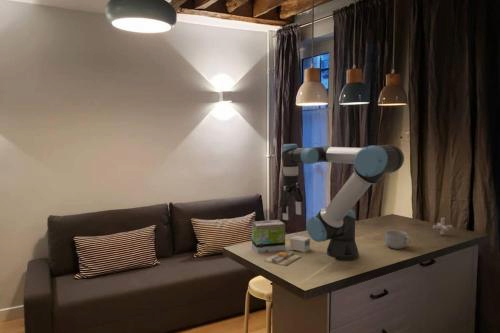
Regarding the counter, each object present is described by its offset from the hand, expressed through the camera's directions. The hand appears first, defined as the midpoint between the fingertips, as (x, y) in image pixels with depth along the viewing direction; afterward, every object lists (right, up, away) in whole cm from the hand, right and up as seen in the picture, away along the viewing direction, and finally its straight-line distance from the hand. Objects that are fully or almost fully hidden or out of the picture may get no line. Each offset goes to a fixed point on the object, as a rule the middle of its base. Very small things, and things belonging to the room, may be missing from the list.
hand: (292, 217), depth 195 cm
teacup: (+54, -17, +3) cm, 57 cm away
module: (+4, -18, +1) cm, 18 cm away
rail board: (-6, -19, -12) cm, 23 cm away
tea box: (-12, -18, +4) cm, 22 cm away
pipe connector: (+87, -14, +24) cm, 91 cm away
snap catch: (-6, -17, -13) cm, 22 cm away
